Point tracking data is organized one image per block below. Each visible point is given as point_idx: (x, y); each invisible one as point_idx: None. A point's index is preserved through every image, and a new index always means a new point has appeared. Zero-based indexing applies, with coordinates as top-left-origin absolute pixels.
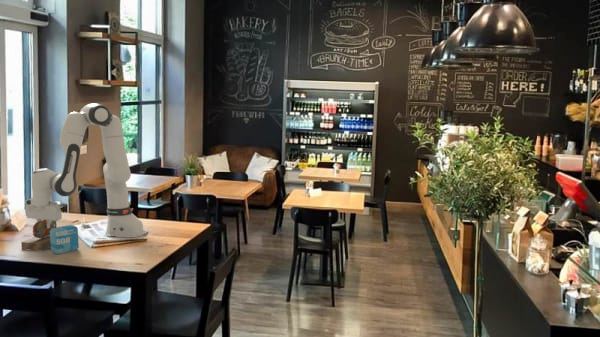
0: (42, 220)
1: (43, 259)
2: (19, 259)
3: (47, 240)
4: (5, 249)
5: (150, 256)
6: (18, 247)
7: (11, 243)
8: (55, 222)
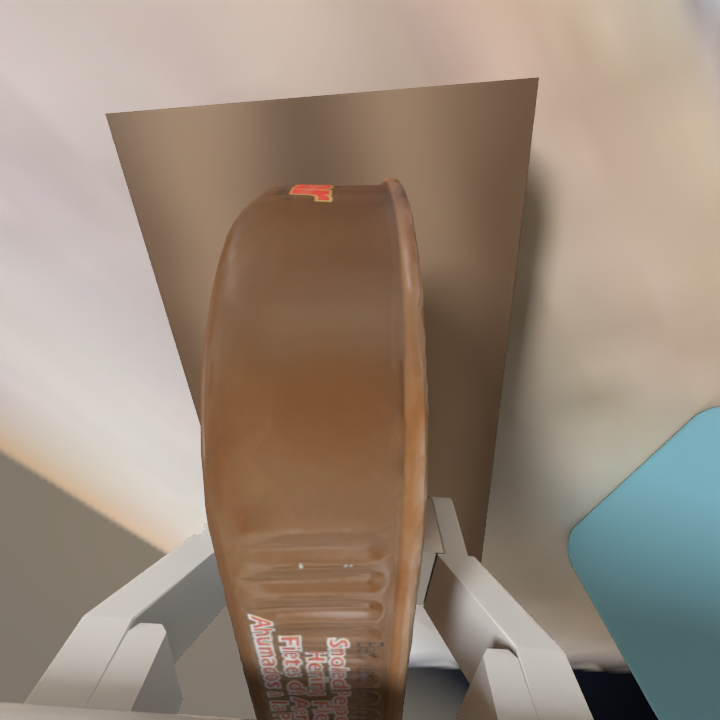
0: (285, 712)
1: (574, 633)
2: (425, 653)
3: (456, 486)
4: (154, 545)
5: None
6: (196, 492)
7: (16, 418)
8: (383, 202)
